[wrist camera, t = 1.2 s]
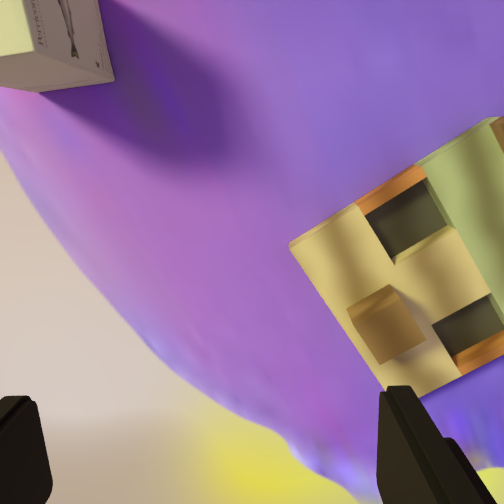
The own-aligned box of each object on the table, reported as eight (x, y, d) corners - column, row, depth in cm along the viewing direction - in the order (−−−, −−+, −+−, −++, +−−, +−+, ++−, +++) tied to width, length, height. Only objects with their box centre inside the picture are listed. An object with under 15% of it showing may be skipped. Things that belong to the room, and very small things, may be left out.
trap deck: (487, 117, 34) (515, 115, 30) (578, 299, 38) (612, 318, 35) (288, 243, 38) (290, 256, 34) (391, 396, 42) (403, 422, 38)
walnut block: (388, 283, 37) (401, 299, 33) (412, 321, 38) (426, 340, 34) (346, 308, 37) (353, 326, 34) (370, 344, 38) (379, 365, 35)
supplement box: (118, 83, 34) (37, 56, 22) (35, 94, 35) (-88, 74, 23) (99, -16, 32) (-2, -104, 20) (11, -2, 33) (-139, -81, 21)
